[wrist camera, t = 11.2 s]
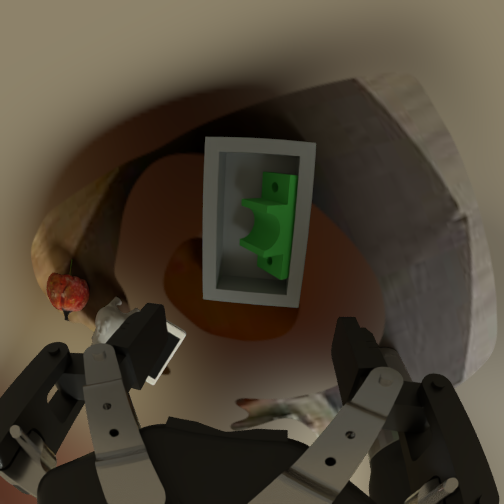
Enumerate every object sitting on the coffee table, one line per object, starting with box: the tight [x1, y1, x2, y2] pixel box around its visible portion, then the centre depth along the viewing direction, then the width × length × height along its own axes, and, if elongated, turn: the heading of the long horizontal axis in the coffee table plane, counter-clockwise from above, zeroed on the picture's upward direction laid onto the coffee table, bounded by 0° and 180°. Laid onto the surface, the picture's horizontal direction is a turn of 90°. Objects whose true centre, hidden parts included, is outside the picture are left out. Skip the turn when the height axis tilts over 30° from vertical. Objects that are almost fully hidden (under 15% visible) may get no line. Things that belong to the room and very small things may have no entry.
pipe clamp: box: [239, 172, 298, 280], centre depth 29 cm, size 11×4×5 cm
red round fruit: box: [47, 259, 90, 321], centre depth 35 cm, size 7×7×10 cm
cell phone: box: [146, 320, 186, 385], centre depth 42 cm, size 8×16×1 cm, turn 148°
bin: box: [203, 137, 316, 308], centre depth 30 cm, size 18×11×5 cm, turn 177°
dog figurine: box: [91, 297, 140, 346], centre depth 35 cm, size 5×13×11 cm, turn 155°
